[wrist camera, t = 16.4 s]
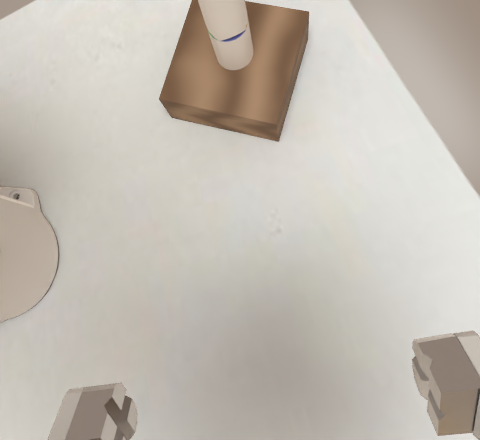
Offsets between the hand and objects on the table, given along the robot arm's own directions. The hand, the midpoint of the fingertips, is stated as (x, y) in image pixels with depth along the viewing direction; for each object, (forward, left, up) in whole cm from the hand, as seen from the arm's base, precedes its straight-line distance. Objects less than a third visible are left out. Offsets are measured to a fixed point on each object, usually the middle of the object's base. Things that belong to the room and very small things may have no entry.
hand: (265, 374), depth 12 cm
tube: (-13, +27, -31) cm, 43 cm away
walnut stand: (-14, +27, -35) cm, 46 cm away
